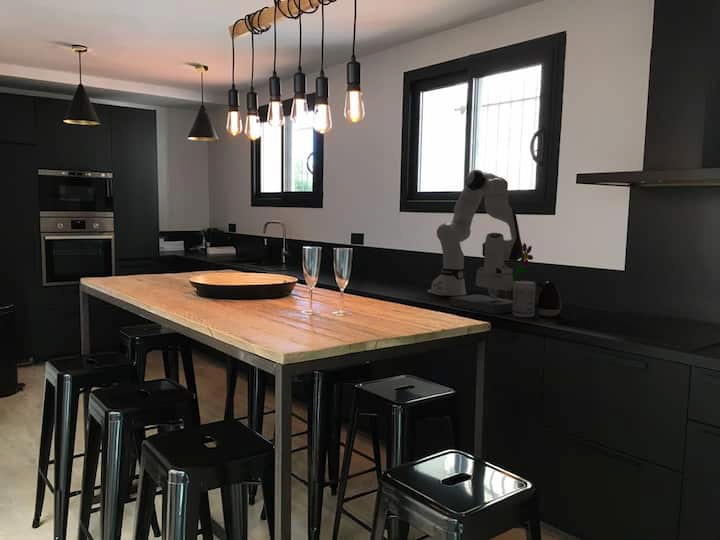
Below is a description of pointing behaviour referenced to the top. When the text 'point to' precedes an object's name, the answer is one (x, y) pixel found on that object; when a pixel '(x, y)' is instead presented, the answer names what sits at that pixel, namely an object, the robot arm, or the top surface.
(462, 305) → the board
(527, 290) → the supplement tub
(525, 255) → the flowerpot
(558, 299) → the dark brown egg shape
